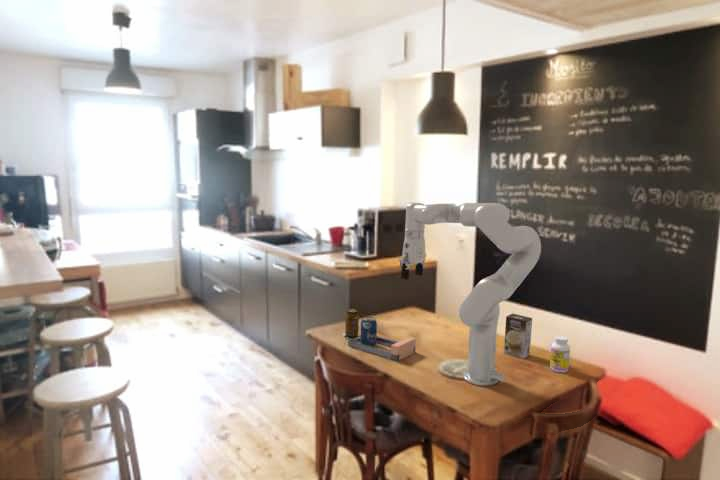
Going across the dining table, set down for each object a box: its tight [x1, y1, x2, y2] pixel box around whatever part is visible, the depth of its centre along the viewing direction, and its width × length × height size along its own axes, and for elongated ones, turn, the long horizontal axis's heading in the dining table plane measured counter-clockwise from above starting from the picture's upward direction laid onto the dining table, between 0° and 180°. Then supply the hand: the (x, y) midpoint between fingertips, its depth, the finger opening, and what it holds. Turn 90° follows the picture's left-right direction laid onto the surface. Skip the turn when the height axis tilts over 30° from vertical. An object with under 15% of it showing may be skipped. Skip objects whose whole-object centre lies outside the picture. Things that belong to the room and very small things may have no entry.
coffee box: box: [503, 313, 533, 359], centre depth 208 cm, size 9×6×16 cm
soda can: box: [360, 316, 378, 347], centre depth 216 cm, size 7×7×12 cm
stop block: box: [390, 336, 417, 362], centre depth 205 cm, size 3×13×6 cm, turn 140°
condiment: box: [342, 308, 361, 340], centre depth 228 cm, size 7×8×12 cm
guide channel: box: [347, 335, 416, 362], centre depth 213 cm, size 26×13×2 cm, turn 50°
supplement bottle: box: [549, 335, 571, 373], centre depth 192 cm, size 7×7×13 cm
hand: (411, 276), depth 199 cm, fingers open, 9 cm apart
